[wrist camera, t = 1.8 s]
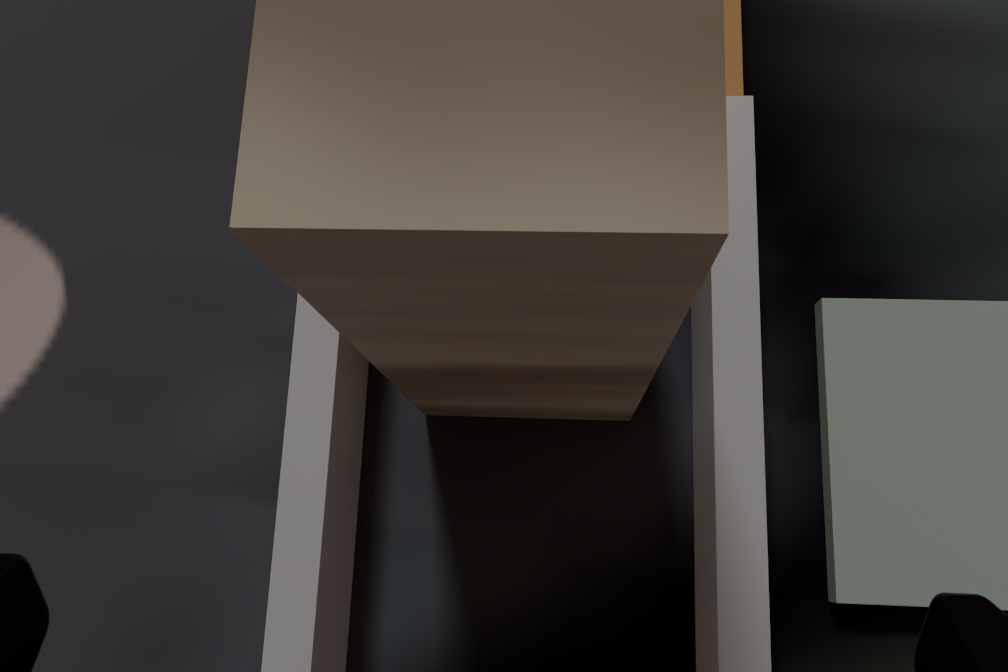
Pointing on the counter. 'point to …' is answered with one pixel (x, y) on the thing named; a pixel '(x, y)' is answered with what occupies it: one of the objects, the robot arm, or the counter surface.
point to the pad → (914, 448)
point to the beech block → (491, 188)
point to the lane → (716, 463)
